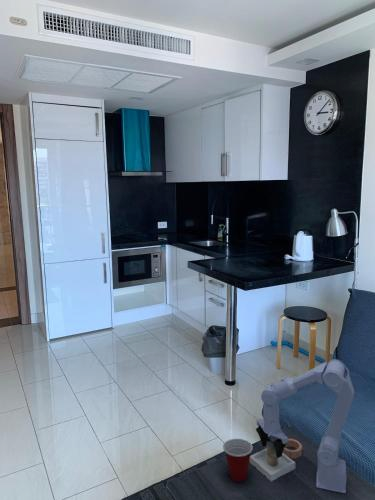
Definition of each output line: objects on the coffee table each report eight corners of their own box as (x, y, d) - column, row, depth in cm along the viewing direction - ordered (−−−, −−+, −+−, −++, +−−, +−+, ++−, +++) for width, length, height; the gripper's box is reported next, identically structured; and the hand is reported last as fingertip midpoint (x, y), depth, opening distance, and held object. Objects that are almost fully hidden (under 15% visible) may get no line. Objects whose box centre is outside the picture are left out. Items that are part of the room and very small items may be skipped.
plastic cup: (250, 464, 144) (249, 435, 142) (256, 486, 133) (255, 454, 131) (222, 466, 144) (221, 437, 142) (225, 487, 133) (224, 456, 131)
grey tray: (273, 450, 151) (272, 445, 151) (295, 468, 141) (295, 462, 140) (249, 462, 145) (249, 456, 145) (271, 481, 135) (271, 475, 134)
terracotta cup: (302, 446, 153) (302, 440, 152) (301, 460, 145) (301, 453, 145) (282, 443, 155) (282, 437, 155) (279, 456, 148) (279, 449, 147)
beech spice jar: (278, 459, 144) (277, 438, 143) (277, 467, 140) (277, 445, 139) (267, 458, 145) (266, 436, 144) (266, 465, 142) (266, 443, 140)
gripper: (293, 423, 136) (294, 457, 138) (265, 405, 149) (266, 437, 150) (279, 429, 133) (280, 465, 134) (252, 411, 145) (252, 443, 147)
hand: (271, 451), depth 142 cm, fingers open, 7 cm apart
